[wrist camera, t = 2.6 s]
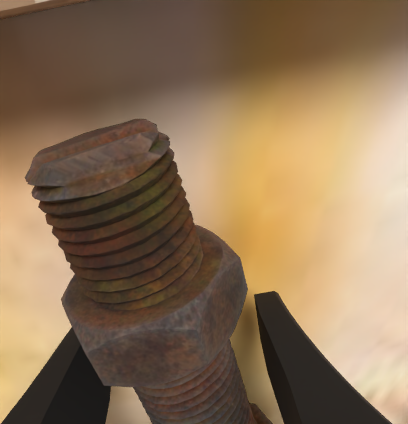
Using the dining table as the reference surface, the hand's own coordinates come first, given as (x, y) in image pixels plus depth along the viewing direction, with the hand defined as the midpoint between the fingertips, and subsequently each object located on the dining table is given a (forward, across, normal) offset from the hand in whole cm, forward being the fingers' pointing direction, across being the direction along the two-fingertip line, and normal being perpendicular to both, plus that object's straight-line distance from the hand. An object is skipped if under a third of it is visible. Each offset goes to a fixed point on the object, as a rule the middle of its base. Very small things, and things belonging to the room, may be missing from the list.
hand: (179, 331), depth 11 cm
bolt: (+2, 0, +1) cm, 2 cm away
